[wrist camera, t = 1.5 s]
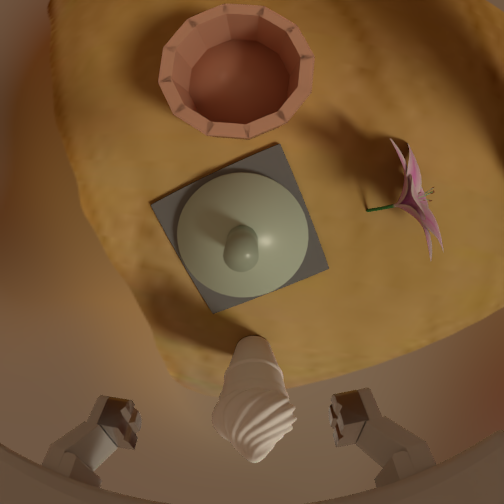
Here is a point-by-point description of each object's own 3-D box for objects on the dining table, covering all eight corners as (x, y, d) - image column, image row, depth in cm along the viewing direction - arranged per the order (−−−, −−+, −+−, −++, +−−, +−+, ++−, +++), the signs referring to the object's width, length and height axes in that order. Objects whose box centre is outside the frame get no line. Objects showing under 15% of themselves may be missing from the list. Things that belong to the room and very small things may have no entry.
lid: (276, 150, 25) (282, 151, 20) (323, 266, 29) (335, 288, 25) (157, 207, 27) (139, 220, 22) (214, 309, 31) (209, 335, 27)
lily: (413, 248, 30) (478, 247, 21) (344, 273, 26) (423, 280, 17) (394, 153, 29) (456, 132, 20) (320, 152, 25) (390, 116, 16)
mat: (279, 143, 25) (279, 143, 25) (328, 267, 30) (329, 268, 29) (151, 204, 27) (150, 205, 27) (213, 311, 32) (213, 313, 32)
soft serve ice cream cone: (223, 318, 32) (208, 435, 17) (292, 325, 33) (315, 439, 18) (218, 366, 35) (206, 471, 21) (279, 372, 36) (290, 475, 21)
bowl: (268, 21, 20) (273, -12, 13) (316, 113, 24) (337, 104, 17) (165, 64, 22) (139, 43, 15) (210, 157, 25) (196, 162, 19)
